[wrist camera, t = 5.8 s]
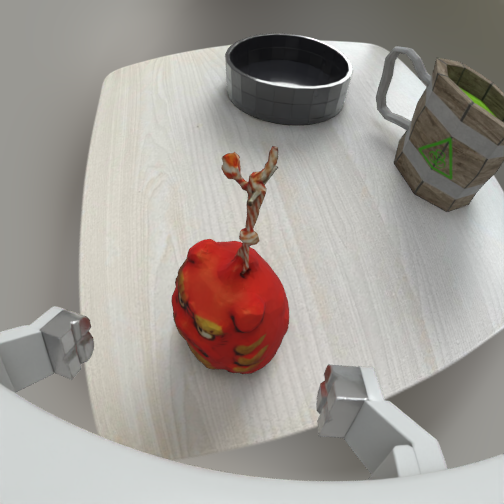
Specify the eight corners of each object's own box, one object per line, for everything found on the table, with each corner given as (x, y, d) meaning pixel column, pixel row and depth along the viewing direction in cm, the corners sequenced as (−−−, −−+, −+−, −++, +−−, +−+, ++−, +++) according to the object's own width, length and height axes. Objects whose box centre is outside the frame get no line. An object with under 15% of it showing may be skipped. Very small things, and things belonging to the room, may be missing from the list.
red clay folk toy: (165, 313, 22) (57, 192, 8) (237, 257, 24) (226, 89, 10) (231, 394, 19) (194, 409, 6) (305, 329, 21) (398, 221, 8)
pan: (214, 117, 31) (210, 80, 26) (239, 58, 37) (239, 29, 33) (347, 135, 30) (358, 100, 26) (340, 72, 36) (347, 43, 32)
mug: (481, 183, 28) (531, 117, 17) (451, 230, 25) (521, 153, 14) (388, 104, 33) (415, 30, 23) (340, 132, 30) (366, 37, 19)
